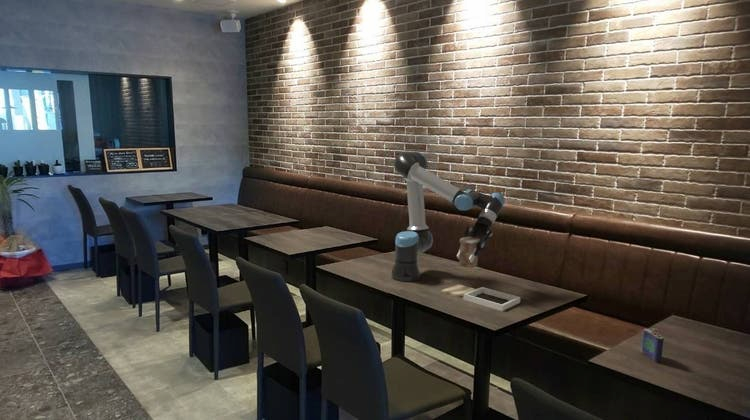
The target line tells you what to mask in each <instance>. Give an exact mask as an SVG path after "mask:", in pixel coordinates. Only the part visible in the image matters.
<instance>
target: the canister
mask: <svg viewBox="0 0 750 420" xmlns="http://www.w3.org/2000/svg"><path fill="white" fill-rule="evenodd" d="M459 241H461V245H460V246H459V248H460V259H459V261H458V266H459V267H463V268H466V269H472V268H475V267H477V266H478V259H479V258H478V257H479V255H478V256H475V258H474V260H473V262H470V260H469V257H470V256H471V254H472V252H473V250H474V249H475V248H477V247H476V246H477V244H478V242H479V241H480V239H479V238H477V237H476V238H472V237H465V238H462V237H461V238H460V239H459Z"/></svg>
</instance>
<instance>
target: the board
mask: <svg viewBox="0 0 750 420" xmlns="http://www.w3.org/2000/svg"><path fill="white" fill-rule="evenodd" d="M476 289H477V288H473V287H470V286H466V285H462V284H459V283H457V284H455V285H451V286H449V287H447V288H444V289H441V290H440V291H441V293H444V294H447V295H450V296H453V297H456V298H460V297H461V298H462V297H463V295H464V294H465V293H468V292H471V291H473V290H476Z"/></svg>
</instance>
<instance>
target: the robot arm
mask: <svg viewBox="0 0 750 420" xmlns="http://www.w3.org/2000/svg"><path fill="white" fill-rule="evenodd" d="M393 162H394V163H393V164H394V169H395V171H396V172H397V174H399V175H400V176H402V178H403V179H404V180H405V182H406V194H407V205H408V218H409V219H408V220H409V221H408V222H409V226H408V227H407V228H406V230H405V231H401V232H399V233H398V232H397V234H396V236H395V240H394V241H395V248H394V249H395V250H394V251H395V253H394V264H393V266H392V270H391V272H390V277H391V279H393V280H394V281H395V280H396V281H400V282H416V281H418V280H420V279H421V273H420V270H419V265H418V258H419V257H418V256H419V255H420V254H422V253H425V252H427V251H428V250H429V249H430V248H431V247H432V245H433V243H434V239H433V235H432V233H431V231H430V227H429V226H428V225H427V224H426V213H425V212H426V211H425V209H426V208H425V200H424V199H425V197H424V188H426V189H428V190H430V191H431V192H433V193H435V194H437V195H438V196H440V197H442V198H444V199H445V200H447V201H448V202H449V203H452V204H453V205H454V206H455V207H456V209H458V210H459V211H469V210H471V209H474V208H477V209H480V210H482V211H481V212H480V214H479V216H478V218H477V220H476V221H475V224H474V226H472V227H470V226H467V227H466V230H465V232H464V233H463V235H462V236H461V238H465V237H472V238H476V239H477V238H478V239H480V241H479V242H478V244H477V246H476V247H477V248H475V249H474V250H473V252H472V254H471V256H470V257H469V260H470V262H473V260H474V258H475V256H478V257H479V253H480V252H481V251H483V252H484V251H486V249H487V246H488V244H489V242H490V240H491V239H492V237H493V236H494V234H493V232H492V231H491V228H492V227H493V224H494V223H495V221H496V219H497V218H498V215H499V213H500V212H501V210H502V209H503V206H504V204H505V203H506V198H505V196H504V195H503V194H501V193H500V192H493V193H491V194H490V195H488V194H486V193H482V192H479V191H476V190H475V189H474V190H473V189H469V188H468V189H466V190H465V191H464V190H462V189H461V188H458V187H457V186H455V185H454V184H452V183H450V182H448V181H447V180H445V179H443V178H441V177H440V176H438V175H436V174H435V173H433V172H431V171H429V170H427V169H428V159H427V157H426V155H424V154H423V153H421V152H419V151H410V152H409V151H408V152H405V151H404V152H401V153H399V154H398V155H397V156H396V157H395V158H394V161H393ZM458 244H459V245H460V246H461V241H460V240H459V241H458ZM456 257H457V259H458V260H460V247H459V248H458V252H457V254H456Z"/></svg>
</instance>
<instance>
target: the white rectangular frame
mask: <svg viewBox="0 0 750 420" xmlns="http://www.w3.org/2000/svg"><path fill="white" fill-rule="evenodd" d="M475 289H476V290H473V291H471V292H468V293H465V294H464V295H463V296H462V299H463V301H464V300H465V301H468V302H470V303H474V304H478V305H480V306H484V307H487V308H490V309H494V310H497V311H501V312H504V311H505V310H507V309H510V308H512V307H514V306H516V305H518V304H520V303H521V297H520V296H517V295H513V294H509V293H507V292H502V291H499V290H495V289H491V288H487V287H483V286H480V287H478V288H475ZM478 294H479V295H481V294H485V295H489V296H492V297H496V298H498V299H499V298H500V299H503V300H507V302H504V303H502V304H501V303H498V302H494V301H492V300H487V299H484V298H482V297H481V298H480V297H477V296H478Z"/></svg>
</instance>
